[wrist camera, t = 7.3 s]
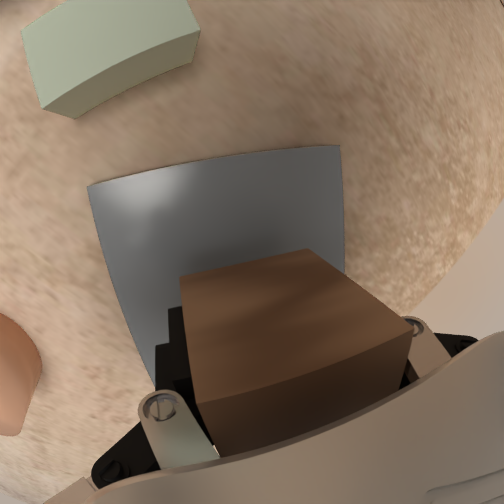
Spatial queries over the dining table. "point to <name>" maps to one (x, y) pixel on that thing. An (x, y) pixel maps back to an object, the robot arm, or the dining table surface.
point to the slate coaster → (212, 225)
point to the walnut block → (286, 348)
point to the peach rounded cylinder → (16, 375)
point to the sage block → (105, 49)
